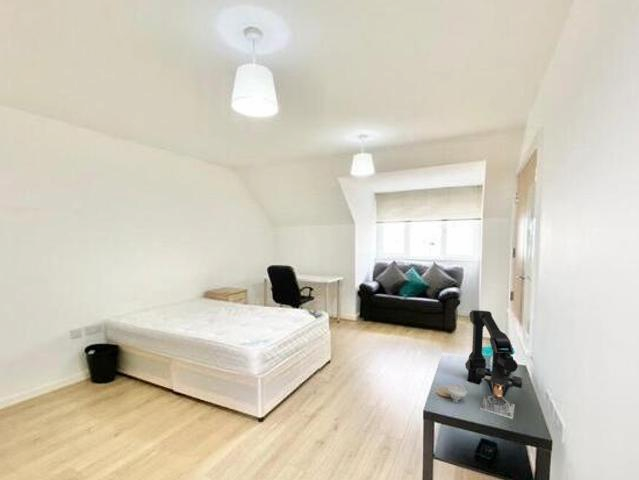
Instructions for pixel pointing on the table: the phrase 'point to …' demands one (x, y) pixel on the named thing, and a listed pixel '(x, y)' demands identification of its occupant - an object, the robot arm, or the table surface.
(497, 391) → the pipe stub
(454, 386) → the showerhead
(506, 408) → the clear glass tray
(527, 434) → the table surface
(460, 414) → the table surface
